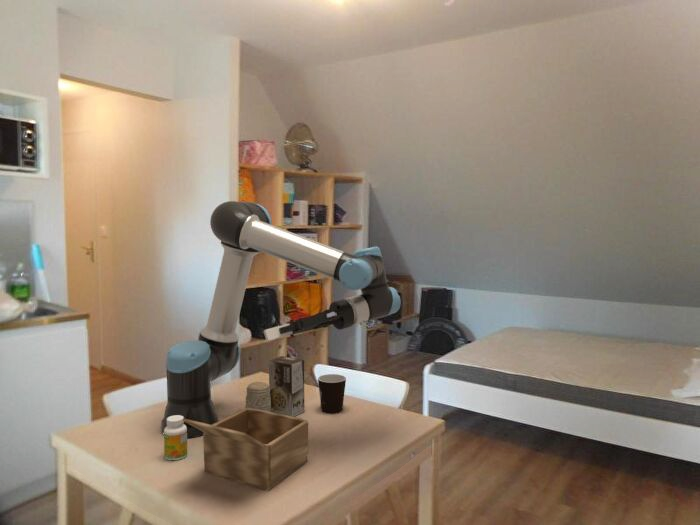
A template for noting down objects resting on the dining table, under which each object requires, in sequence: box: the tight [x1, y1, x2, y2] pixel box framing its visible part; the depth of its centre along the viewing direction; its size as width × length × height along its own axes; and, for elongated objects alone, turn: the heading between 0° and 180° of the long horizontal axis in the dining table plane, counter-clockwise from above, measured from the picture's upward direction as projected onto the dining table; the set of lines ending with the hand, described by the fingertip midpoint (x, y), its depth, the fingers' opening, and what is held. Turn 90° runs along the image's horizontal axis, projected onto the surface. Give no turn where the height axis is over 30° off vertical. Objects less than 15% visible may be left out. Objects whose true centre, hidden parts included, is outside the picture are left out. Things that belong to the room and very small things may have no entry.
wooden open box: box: [202, 408, 309, 492], centre depth 125 cm, size 19×17×10 cm
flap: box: [182, 418, 265, 447], centre depth 114 cm, size 17×8×1 cm
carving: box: [244, 381, 271, 412], centre depth 150 cm, size 6×8×12 cm
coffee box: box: [268, 355, 305, 417], centre depth 160 cm, size 9×6×16 cm
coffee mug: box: [317, 373, 347, 415], centre depth 164 cm, size 12×9×10 cm
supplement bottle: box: [163, 415, 188, 461], centre depth 130 cm, size 5×5×10 cm
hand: (266, 335), depth 128 cm, fingers closed
